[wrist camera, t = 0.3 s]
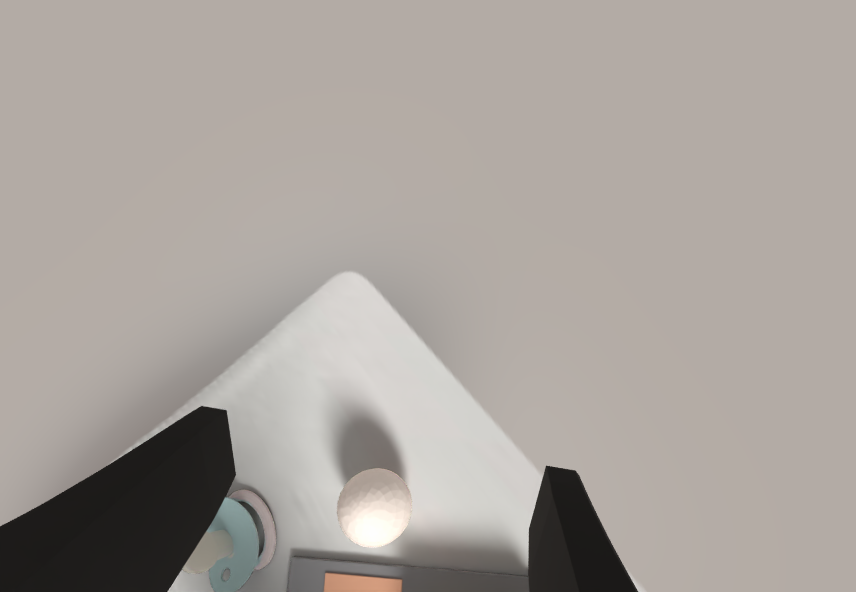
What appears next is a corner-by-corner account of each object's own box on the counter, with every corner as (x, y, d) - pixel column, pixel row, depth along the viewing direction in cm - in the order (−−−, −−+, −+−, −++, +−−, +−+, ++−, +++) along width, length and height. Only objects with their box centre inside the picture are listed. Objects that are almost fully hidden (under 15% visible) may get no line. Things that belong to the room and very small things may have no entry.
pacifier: (257, 473, 41) (196, 512, 41) (217, 475, 35) (145, 521, 35) (293, 556, 38) (227, 598, 38) (256, 574, 33) (179, 623, 32)
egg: (365, 547, 38) (332, 569, 31) (347, 479, 39) (313, 485, 32) (428, 525, 37) (409, 542, 30) (407, 457, 39) (385, 459, 32)
